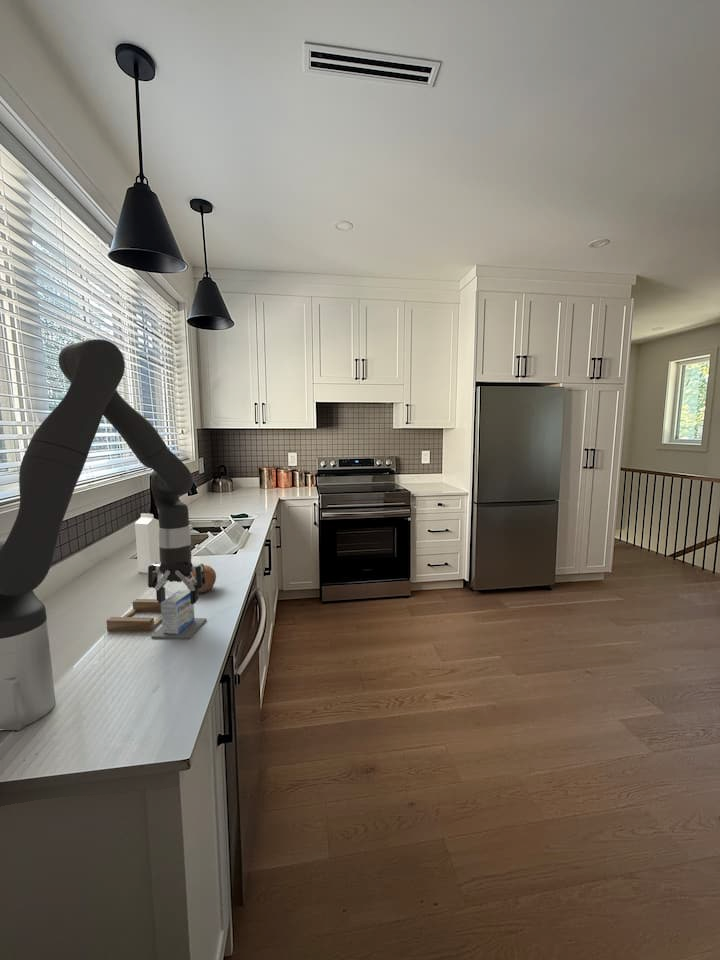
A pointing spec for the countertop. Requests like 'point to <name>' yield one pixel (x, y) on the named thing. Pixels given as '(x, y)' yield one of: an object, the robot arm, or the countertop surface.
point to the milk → (147, 541)
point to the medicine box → (177, 612)
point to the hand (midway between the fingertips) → (178, 602)
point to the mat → (184, 634)
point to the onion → (206, 579)
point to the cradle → (136, 623)
